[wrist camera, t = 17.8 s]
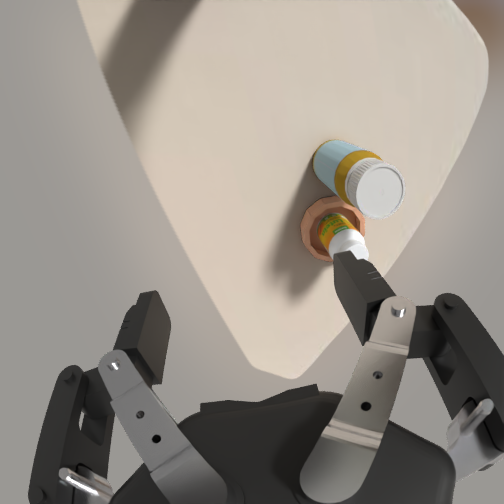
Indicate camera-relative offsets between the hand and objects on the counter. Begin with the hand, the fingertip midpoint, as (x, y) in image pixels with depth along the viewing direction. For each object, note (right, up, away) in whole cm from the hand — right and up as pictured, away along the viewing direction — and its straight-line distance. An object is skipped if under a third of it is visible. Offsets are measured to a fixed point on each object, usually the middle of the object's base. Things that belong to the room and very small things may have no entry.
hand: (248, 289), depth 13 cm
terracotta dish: (+13, +6, +33) cm, 35 cm away
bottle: (+12, +15, +28) cm, 34 cm away
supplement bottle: (+13, +6, +32) cm, 35 cm away
